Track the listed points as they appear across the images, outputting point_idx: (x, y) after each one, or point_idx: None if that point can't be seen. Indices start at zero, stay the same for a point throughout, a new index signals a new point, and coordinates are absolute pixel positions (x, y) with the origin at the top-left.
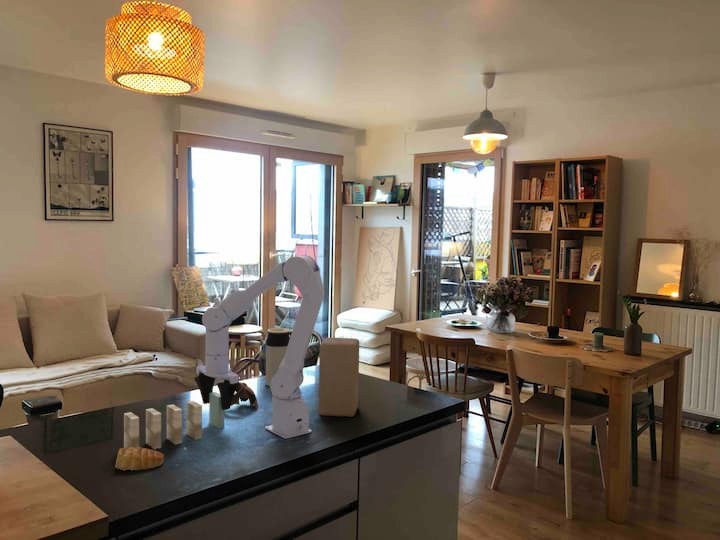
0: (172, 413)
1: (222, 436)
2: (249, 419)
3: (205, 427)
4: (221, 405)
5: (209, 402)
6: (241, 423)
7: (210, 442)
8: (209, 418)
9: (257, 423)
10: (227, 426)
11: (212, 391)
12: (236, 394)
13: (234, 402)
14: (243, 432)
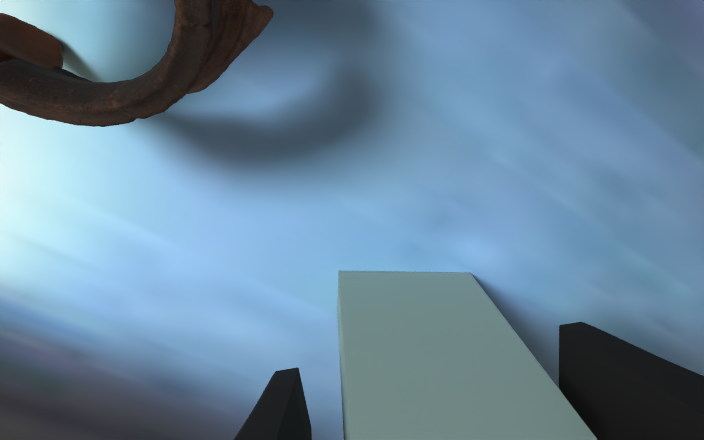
0: None
1: None
2: (457, 39)
3: None
4: (589, 428)
5: (343, 414)
6: (490, 143)
7: None
8: (338, 326)
9: (578, 45)
10: (473, 250)
11: (279, 437)
12: (212, 16)
13: (233, 54)
14: (641, 228)
